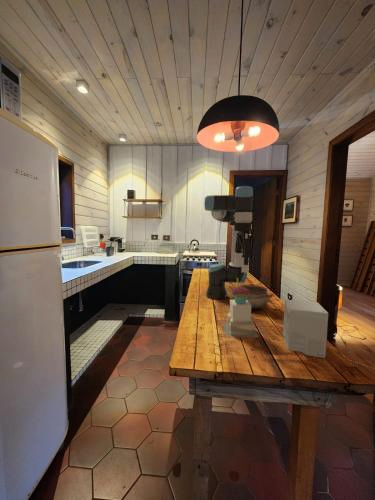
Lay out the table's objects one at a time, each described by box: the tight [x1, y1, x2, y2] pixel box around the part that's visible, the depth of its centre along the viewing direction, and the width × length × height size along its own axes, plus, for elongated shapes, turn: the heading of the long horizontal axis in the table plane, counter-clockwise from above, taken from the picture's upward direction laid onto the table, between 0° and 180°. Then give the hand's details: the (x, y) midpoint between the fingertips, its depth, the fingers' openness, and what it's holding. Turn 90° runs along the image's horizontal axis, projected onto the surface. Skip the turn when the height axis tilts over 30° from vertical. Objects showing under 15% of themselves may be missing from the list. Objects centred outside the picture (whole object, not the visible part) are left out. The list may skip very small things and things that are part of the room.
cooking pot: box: [239, 284, 274, 311], centre depth 133 cm, size 25×19×12 cm
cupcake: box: [230, 278, 250, 304], centre depth 100 cm, size 9×8×12 cm
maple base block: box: [226, 312, 255, 335], centre depth 101 cm, size 10×10×6 cm
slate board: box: [222, 322, 260, 338], centre depth 101 cm, size 14×14×1 cm
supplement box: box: [282, 299, 329, 359], centre depth 88 cm, size 13×13×18 cm
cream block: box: [229, 299, 252, 321], centre depth 100 cm, size 8×8×7 cm
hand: (241, 269), depth 99 cm, fingers open, 13 cm apart
